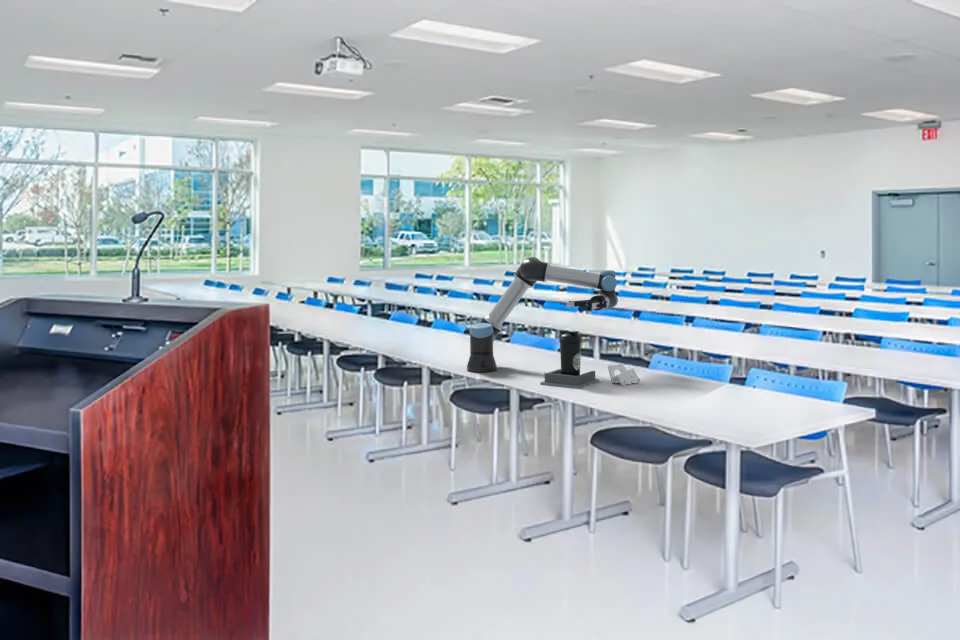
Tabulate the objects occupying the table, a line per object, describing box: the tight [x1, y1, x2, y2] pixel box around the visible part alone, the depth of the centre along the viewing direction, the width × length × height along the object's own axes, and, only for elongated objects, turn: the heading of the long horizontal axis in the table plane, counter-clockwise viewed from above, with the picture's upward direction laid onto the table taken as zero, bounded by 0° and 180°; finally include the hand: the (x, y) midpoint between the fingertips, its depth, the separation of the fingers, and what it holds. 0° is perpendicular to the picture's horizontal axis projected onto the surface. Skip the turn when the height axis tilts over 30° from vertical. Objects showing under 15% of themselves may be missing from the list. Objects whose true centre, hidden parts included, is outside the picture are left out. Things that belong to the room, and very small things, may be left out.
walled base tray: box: [539, 368, 600, 389], centre depth 369 cm, size 20×20×5 cm
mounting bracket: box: [607, 363, 642, 386], centre depth 367 cm, size 12×6×11 cm, turn 119°
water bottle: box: [558, 329, 583, 376], centre depth 368 cm, size 10×10×23 cm
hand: (579, 305), depth 384 cm, fingers open, 13 cm apart
